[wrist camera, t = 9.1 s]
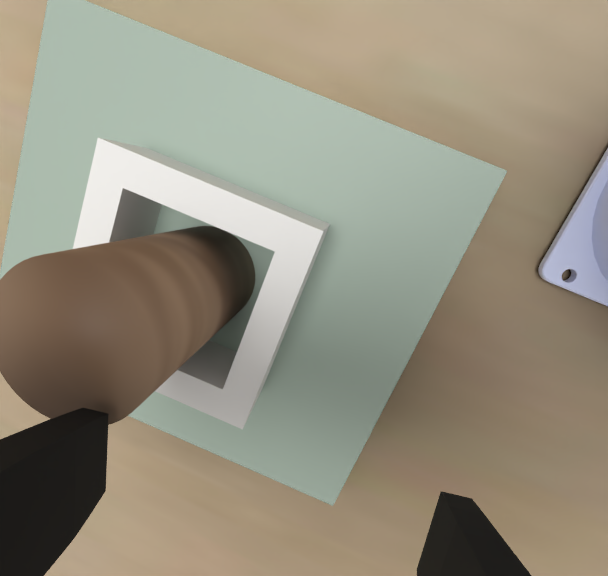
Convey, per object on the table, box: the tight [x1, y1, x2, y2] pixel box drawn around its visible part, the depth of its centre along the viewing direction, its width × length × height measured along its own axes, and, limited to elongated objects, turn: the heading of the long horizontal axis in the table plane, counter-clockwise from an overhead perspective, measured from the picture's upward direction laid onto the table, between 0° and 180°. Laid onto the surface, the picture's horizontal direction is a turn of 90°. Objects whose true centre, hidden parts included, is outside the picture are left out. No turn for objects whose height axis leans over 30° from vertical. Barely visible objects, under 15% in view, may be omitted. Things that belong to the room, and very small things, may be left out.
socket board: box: [0, 0, 507, 506], centre depth 15 cm, size 18×16×4 cm
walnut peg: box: [0, 226, 255, 425], centre depth 12 cm, size 4×4×8 cm
